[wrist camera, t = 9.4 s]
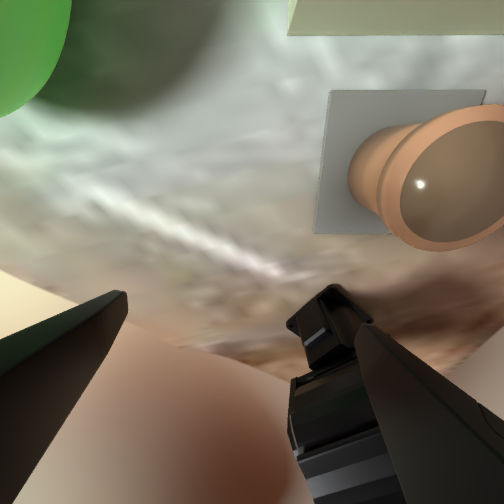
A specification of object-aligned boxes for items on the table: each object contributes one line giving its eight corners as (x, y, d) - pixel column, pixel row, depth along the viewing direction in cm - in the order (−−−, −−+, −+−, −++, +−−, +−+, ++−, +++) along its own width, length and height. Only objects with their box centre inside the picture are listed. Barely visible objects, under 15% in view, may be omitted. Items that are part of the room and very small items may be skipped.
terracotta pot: (454, 123, 16) (583, 111, 10) (415, 218, 19) (495, 257, 13) (356, 113, 16) (421, 96, 9) (332, 211, 19) (370, 247, 12)
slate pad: (429, 231, 20) (434, 234, 19) (312, 231, 20) (314, 233, 19) (477, 91, 16) (485, 90, 15) (329, 92, 16) (331, 90, 15)
